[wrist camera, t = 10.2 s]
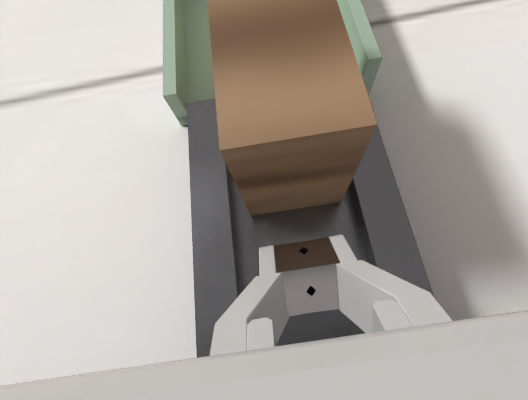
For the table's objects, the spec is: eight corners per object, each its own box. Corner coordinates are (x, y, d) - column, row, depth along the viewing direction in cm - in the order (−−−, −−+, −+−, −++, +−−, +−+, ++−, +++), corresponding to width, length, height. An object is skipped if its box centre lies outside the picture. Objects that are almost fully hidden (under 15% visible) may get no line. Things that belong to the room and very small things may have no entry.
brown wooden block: (341, 202, 15) (377, 124, 9) (250, 215, 15) (219, 150, 9) (307, 63, 19) (315, -65, 12) (234, 76, 19) (203, -43, 13)
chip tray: (369, 93, 19) (382, 56, 16) (181, 125, 20) (163, 96, 17) (325, -36, 24) (330, -81, 21) (178, -7, 25) (163, -47, 22)
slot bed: (494, 548, 11) (546, 611, 9) (218, 575, 11) (200, 640, 9) (355, 99, 19) (363, 72, 17) (195, 127, 19) (183, 103, 17)
